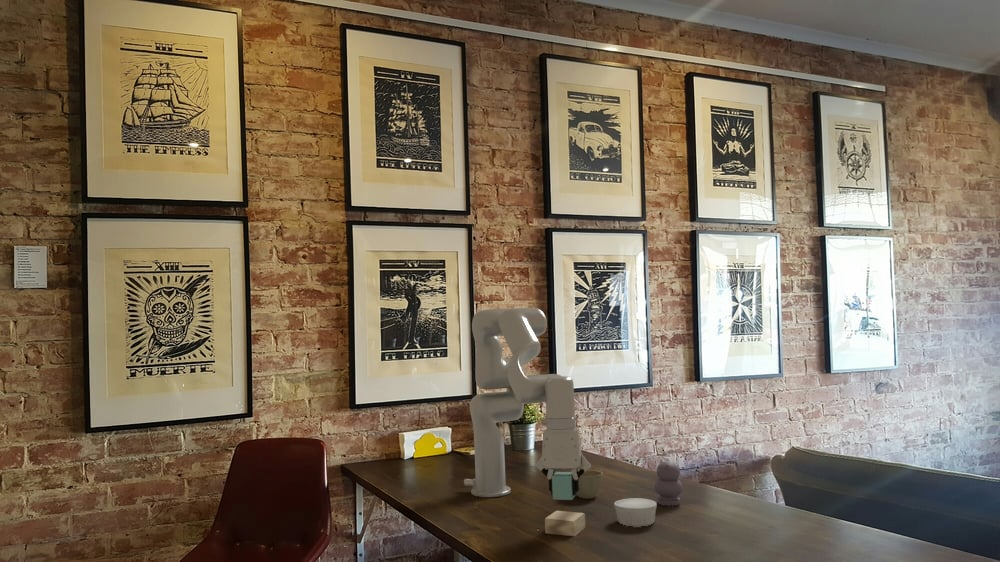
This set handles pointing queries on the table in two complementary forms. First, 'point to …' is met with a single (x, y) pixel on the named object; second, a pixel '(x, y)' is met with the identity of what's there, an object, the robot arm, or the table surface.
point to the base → (565, 523)
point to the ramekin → (635, 511)
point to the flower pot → (589, 484)
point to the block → (562, 486)
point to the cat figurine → (668, 483)
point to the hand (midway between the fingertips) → (564, 493)
